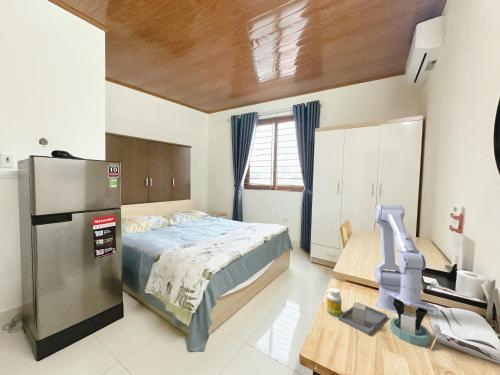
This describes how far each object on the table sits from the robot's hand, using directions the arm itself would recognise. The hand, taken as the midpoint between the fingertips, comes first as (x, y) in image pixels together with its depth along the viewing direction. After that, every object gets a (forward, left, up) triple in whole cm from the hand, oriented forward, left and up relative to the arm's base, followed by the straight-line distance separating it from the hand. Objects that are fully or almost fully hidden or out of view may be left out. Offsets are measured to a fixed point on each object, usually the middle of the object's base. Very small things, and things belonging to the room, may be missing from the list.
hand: (409, 325), depth 74 cm
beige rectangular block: (+1, 0, -2) cm, 2 cm away
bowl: (0, 0, -3) cm, 3 cm away
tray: (+4, -14, -3) cm, 15 cm away
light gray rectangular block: (+7, -14, -3) cm, 16 cm away
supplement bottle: (+9, -23, -4) cm, 25 cm away
